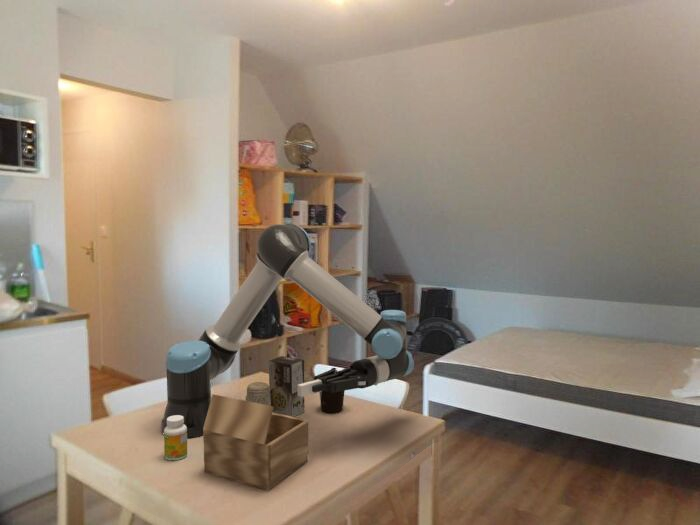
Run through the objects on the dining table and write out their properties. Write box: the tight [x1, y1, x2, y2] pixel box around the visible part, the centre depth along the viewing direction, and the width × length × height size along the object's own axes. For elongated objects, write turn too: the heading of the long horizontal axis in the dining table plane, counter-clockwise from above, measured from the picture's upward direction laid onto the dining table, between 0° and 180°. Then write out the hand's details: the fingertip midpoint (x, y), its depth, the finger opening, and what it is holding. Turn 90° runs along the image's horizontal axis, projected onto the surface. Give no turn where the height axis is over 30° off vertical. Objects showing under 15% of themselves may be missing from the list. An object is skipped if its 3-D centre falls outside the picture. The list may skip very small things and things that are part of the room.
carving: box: [245, 381, 271, 406], centre depth 150 cm, size 6×8×12 cm
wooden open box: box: [202, 412, 309, 492], centre depth 125 cm, size 19×17×10 cm
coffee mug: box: [318, 390, 346, 415], centre depth 164 cm, size 12×9×10 cm
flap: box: [203, 393, 274, 445], centre depth 118 cm, size 17×8×1 cm
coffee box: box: [268, 355, 305, 417], centre depth 160 cm, size 9×6×16 cm
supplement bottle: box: [163, 415, 188, 461], centre depth 130 cm, size 5×5×10 cm
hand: (299, 390), depth 128 cm, fingers closed
